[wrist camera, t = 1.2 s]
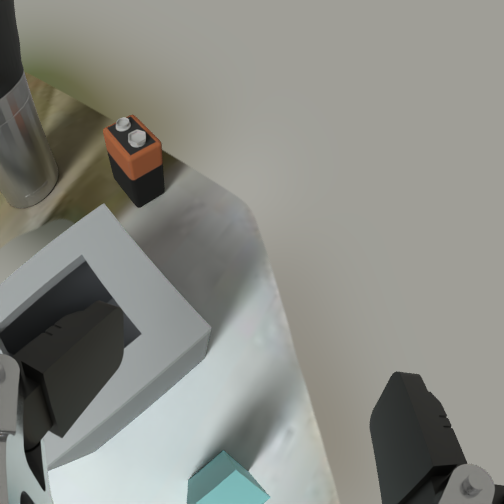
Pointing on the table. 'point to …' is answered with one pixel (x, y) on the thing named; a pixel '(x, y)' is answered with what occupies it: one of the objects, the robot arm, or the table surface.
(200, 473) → the teal rectangular block
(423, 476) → the robot arm
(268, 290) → the table surface
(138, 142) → the battery
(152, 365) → the slot box
